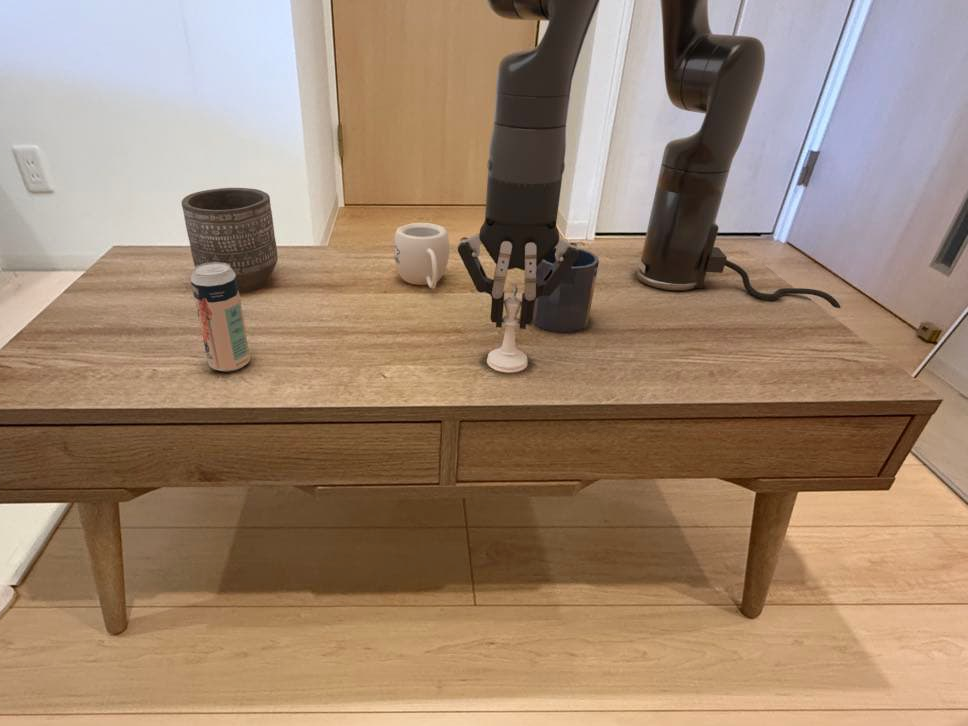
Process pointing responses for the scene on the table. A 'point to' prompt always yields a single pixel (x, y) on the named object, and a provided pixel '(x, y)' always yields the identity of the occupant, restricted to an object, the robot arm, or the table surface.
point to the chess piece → (509, 340)
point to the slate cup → (567, 295)
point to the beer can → (220, 316)
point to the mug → (421, 253)
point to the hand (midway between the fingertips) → (510, 324)
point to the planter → (233, 233)
